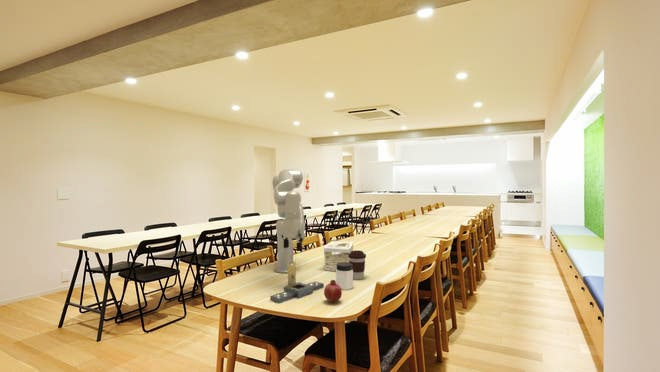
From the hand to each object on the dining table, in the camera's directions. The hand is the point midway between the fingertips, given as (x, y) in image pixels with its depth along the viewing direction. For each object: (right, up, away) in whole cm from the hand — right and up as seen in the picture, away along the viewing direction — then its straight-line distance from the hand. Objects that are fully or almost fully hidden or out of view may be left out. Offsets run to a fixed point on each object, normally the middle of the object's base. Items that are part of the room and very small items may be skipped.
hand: (292, 249), depth 176 cm
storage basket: (+25, -19, +40) cm, 51 cm away
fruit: (+21, -20, -23) cm, 37 cm away
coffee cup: (+35, -19, +15) cm, 42 cm away
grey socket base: (+4, -20, -12) cm, 23 cm away
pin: (0, -19, 0) cm, 19 cm away
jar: (+27, -20, -2) cm, 33 cm away
